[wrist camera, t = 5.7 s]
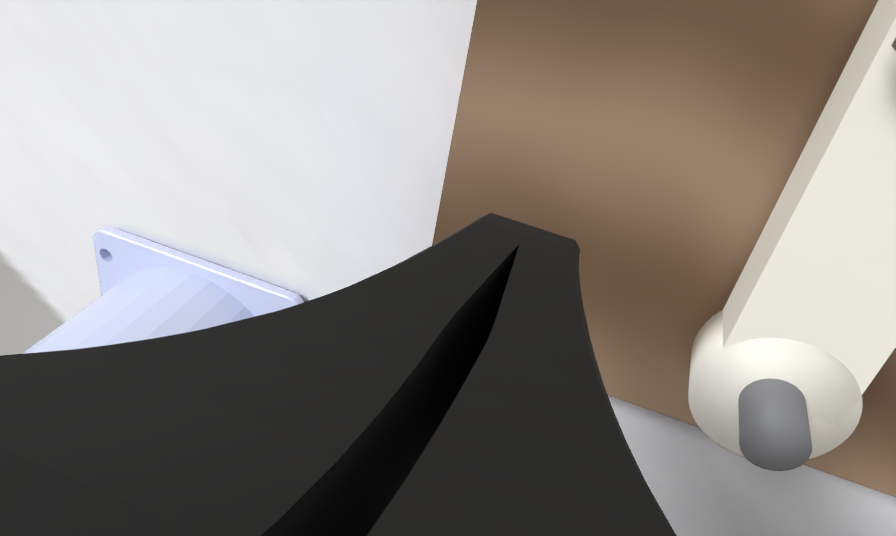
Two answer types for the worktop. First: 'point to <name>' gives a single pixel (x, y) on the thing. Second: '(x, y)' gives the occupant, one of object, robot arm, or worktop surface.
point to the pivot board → (655, 167)
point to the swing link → (813, 282)
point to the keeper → (894, 44)
